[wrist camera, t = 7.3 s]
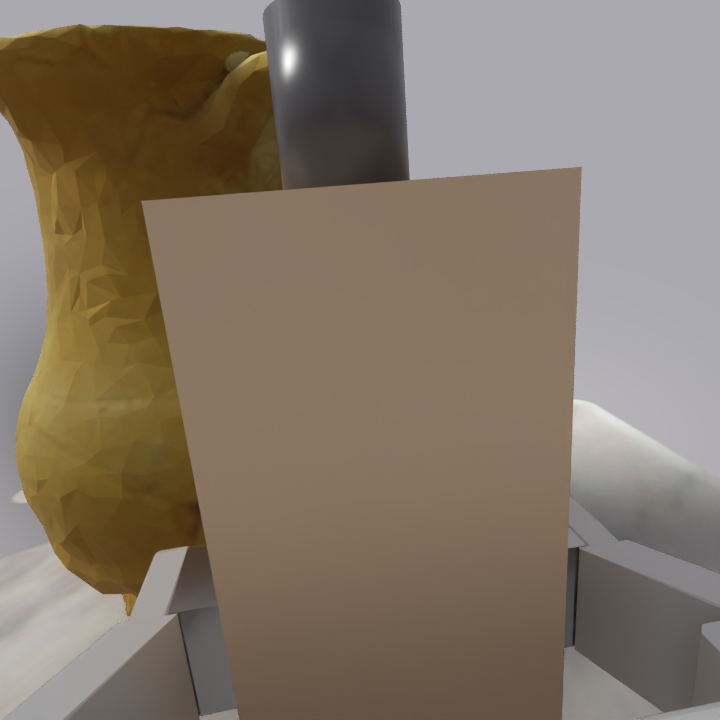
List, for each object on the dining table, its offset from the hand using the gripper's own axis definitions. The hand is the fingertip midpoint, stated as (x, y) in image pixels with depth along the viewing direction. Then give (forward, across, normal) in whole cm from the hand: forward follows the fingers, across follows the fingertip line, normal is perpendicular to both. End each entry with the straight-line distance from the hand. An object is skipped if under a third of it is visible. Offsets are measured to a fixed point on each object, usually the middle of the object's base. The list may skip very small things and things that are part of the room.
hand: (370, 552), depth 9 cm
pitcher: (+17, +6, +12) cm, 22 cm away
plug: (-1, 0, +9) cm, 9 cm away
